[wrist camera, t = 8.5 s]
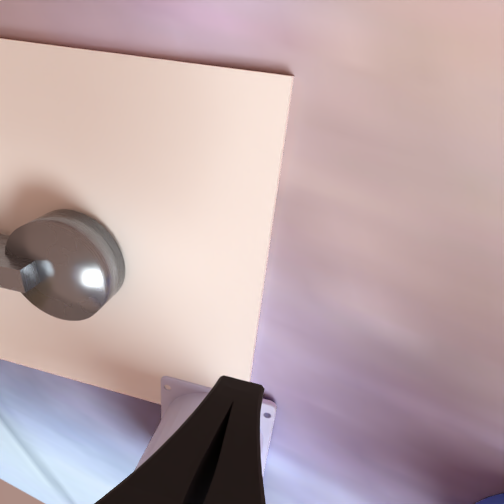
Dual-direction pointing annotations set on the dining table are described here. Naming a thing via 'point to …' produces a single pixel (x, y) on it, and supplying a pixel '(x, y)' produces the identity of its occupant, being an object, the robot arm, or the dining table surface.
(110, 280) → the twist lock
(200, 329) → the base
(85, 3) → the dining table surface
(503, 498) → the water bottle
